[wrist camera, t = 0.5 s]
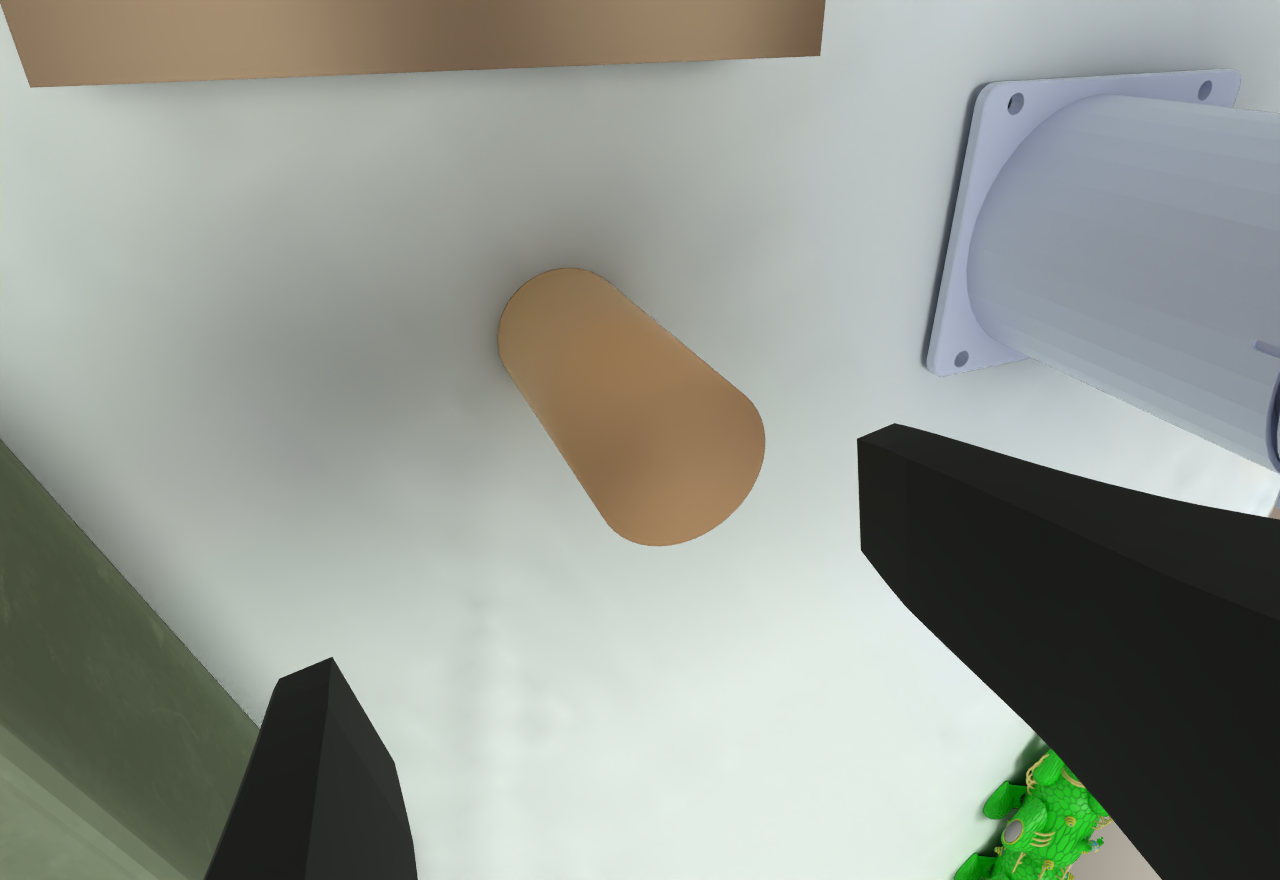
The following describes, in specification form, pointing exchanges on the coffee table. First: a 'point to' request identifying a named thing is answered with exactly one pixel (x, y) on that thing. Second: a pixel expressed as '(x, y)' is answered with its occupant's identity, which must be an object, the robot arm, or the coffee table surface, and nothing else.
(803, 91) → the coffee table surface
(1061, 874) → the crocodile figurine
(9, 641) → the handheld radio
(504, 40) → the walnut hole plate
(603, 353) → the tan peg
